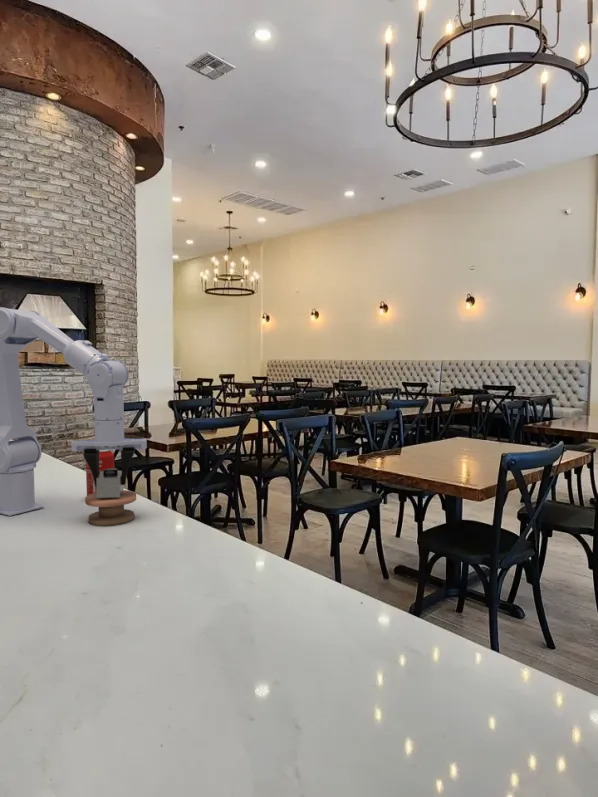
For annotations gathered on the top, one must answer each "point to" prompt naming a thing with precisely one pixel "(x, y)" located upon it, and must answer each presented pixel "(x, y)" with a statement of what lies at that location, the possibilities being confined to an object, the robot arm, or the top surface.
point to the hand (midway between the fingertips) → (110, 484)
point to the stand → (111, 509)
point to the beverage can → (104, 463)
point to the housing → (109, 483)
